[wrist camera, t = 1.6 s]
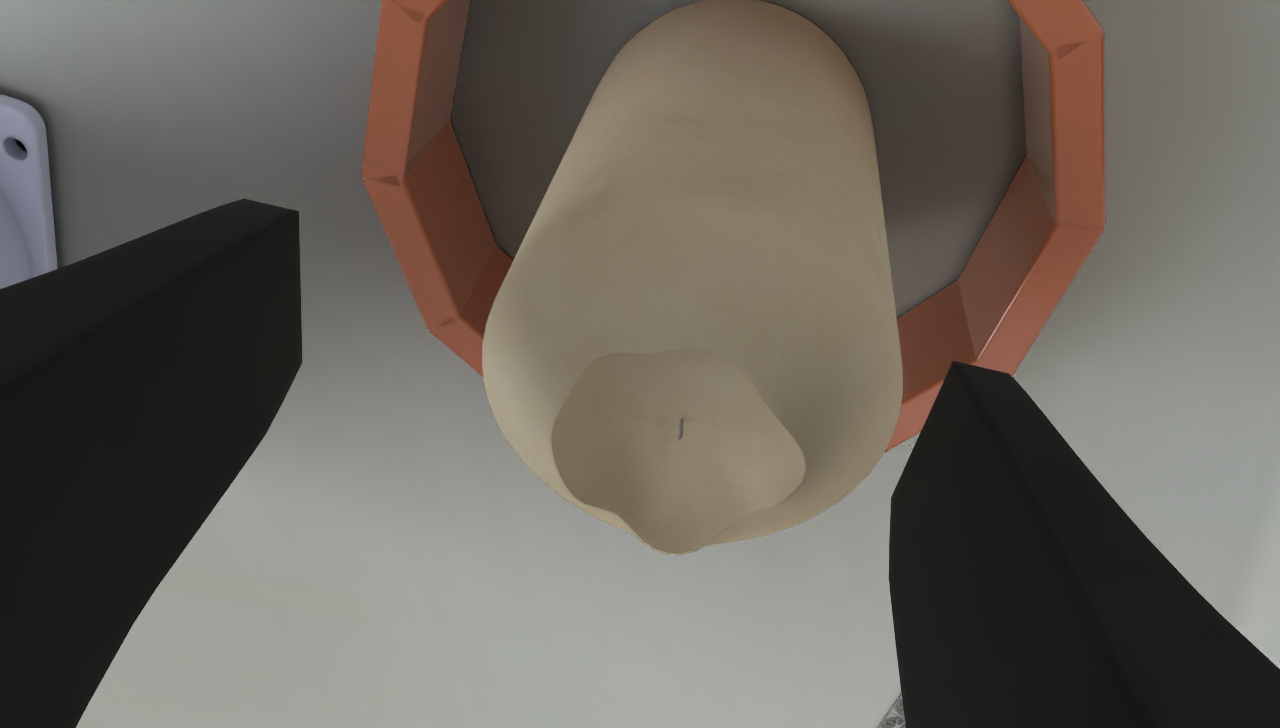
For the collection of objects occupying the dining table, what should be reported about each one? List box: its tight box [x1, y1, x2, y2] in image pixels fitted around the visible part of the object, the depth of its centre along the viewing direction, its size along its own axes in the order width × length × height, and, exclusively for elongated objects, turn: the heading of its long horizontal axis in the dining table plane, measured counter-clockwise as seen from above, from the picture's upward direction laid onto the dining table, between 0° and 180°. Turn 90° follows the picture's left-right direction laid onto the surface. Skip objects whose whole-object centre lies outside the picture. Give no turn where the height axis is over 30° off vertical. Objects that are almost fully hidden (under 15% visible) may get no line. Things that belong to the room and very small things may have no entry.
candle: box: [482, 0, 903, 555], centre depth 16 cm, size 6×6×10 cm
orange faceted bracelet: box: [361, 0, 1106, 453], centre depth 19 cm, size 13×13×3 cm
